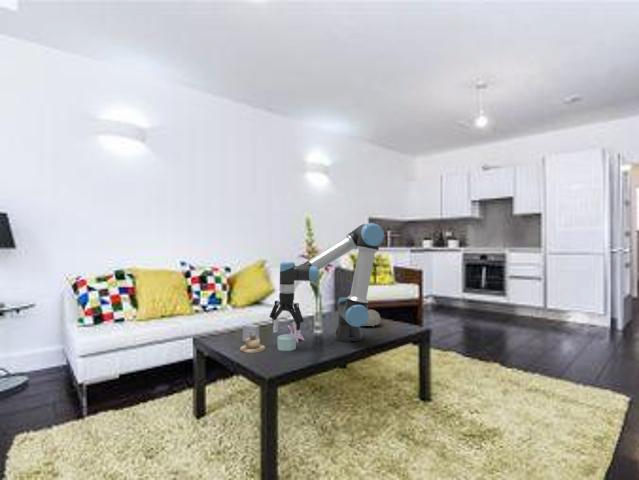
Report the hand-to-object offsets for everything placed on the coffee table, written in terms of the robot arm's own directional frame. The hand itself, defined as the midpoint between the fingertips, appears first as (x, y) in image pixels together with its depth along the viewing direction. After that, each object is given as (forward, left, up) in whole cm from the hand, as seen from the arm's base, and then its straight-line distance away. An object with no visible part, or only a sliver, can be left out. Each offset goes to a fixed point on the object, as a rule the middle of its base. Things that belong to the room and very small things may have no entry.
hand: (285, 334), depth 188 cm
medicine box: (+24, +1, -7) cm, 25 cm away
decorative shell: (-11, -69, -7) cm, 71 cm away
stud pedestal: (+13, +11, -7) cm, 18 cm away
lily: (+4, -13, -8) cm, 16 cm away
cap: (0, 0, -7) cm, 7 cm away
